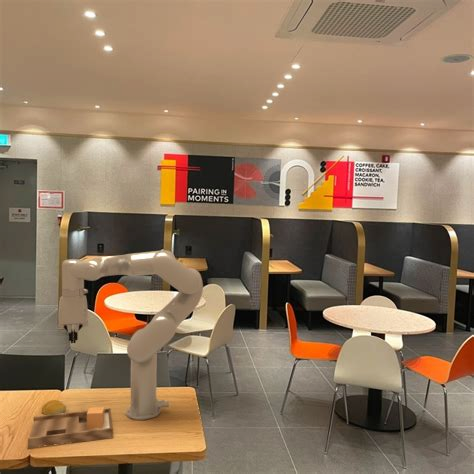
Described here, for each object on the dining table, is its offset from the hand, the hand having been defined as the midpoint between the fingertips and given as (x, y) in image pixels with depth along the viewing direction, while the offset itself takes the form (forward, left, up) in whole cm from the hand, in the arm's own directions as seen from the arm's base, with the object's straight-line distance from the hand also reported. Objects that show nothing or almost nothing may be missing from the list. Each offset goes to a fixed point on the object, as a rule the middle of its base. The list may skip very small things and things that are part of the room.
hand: (73, 342), depth 173 cm
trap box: (0, +15, -27) cm, 31 cm away
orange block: (-8, +16, -25) cm, 31 cm away
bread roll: (+7, -4, -28) cm, 29 cm away
